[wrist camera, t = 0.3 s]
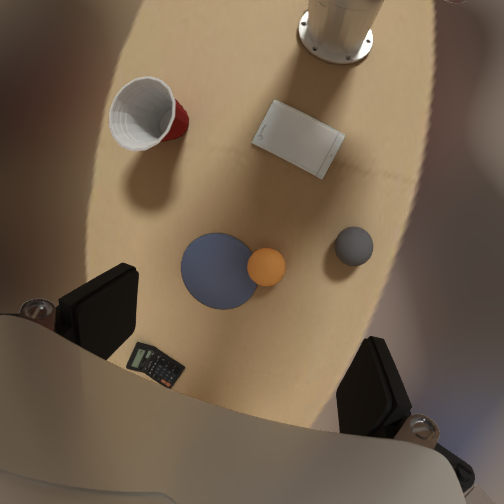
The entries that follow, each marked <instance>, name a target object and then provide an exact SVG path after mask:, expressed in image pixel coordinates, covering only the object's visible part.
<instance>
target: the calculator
mask: <svg viewBox="0 0 504 504" xmlns="http://www.w3.org/2000/svg"><path fill="white" fill-rule="evenodd" d="M126 368H127V369H131V370H135V371H139V372H143V373H145V374H146V375H148V376H149V377H151V378H152V379H154V380H155V381H157V382H158V383H160V384H161V385H163V386H164V387H166V388H169V389H171V387H172V386H173V385H174V383H175V382H176V380H177V379H178V377H179V376H180V375H181V373H182V372H183V370H184V369H185V367H184V366H183V365H181V364H180V363H178V362H177V361H175V360H174V359H172V358H171V357H169V356H168V355H166V354H165V353H163V352H162V351H160V350H159V349H157V348H156V347H154V346H151V345H147V344H144V343H140V342H137V343H136V345H135V348H134V350H133V352H132V354H131V356H130V359H129V361H128V363H127V365H126Z"/></svg>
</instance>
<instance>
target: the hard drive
mask: <svg viewBox="0 0 504 504" xmlns="http://www.w3.org/2000/svg"><path fill="white" fill-rule="evenodd" d="M345 136H346V135H344V134H342V133H341V132H339V131H337V130H335V129H333V128H332V127H330V126H328V125H326V124H324V123H322V122H320V121H319V120H317V119H315V118H313V117H311V116H309V115H307V114H305V113H303V112H301V111H299V110H297V109H295V108H293V107H291V106H288V105H286V104H284V103H282V102H280V101H278V100H276V99H275V100H274V101H273V103H272V105H271V106H270V108H269V110H268V112H267V114H266V116H265V118H264V119H263V121H262V123H261V125H260V127H259V129H258V131H257V133H256V135H255V137H254V139H253V140H252V144H254V145H256V146H258V147H260V148H262V149H264V150H266V151H268V152H270V153H272V154H274V155H276V156H278V157H280V158H282V159H284V160H286V161H288V162H290V163H292V164H294V165H296V166H298V167H300V168H301V169H303V170H305V171H307V172H309V173H311V174H313V175H314V176H316V177H318V178H320V179H323V178H324V176H325V174H326V172H327V170H328V168H329V167H330V165H331V163H332V161H333V159H334V157H335V155H336V153H337V152H338V150H339V148H340V146H341V144H342V142H343V140H344V138H345Z"/></svg>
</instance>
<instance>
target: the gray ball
mask: <svg viewBox="0 0 504 504" xmlns="http://www.w3.org/2000/svg"><path fill="white" fill-rule="evenodd" d="M335 251H336V254H337V256H338V258H339V259H340V260H341V261H342V262H343V263H345V264H347V265H349V266H359V265H362V264H364V263H365V262H366V261H367V260H368V259H369V258H370V257H371V254H372V252H373V241H372V238H371V236H370V235H369V234H368V232H367V231H365V230H364V229H362V228H359V227H349V228H346V229H344V230H343V231H342V232H341V233H340V234H339V235H338V237H337V239H336V242H335Z"/></svg>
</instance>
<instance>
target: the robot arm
mask: <svg viewBox="0 0 504 504" xmlns="http://www.w3.org/2000/svg"><path fill="white" fill-rule="evenodd" d="M445 1H448V2H452V3H462V2H465V1H467V0H445ZM383 2H384V0H309V7H308V11H307V12H306V13H305V14H304V15H303V16H302V18H301V20H300V22H299V26H298V32H299V37H300V40H301V42H302V44H303V45H304V46H305V48H306V49H307V50H308V51H309V52H310V53H312V54H313V55H314V56H316V57H318V58H320V59H321V60H324V61H327V62H330V63H335V64H351V63H355V62H358V61H360V60H362V59H363V58H364V57H365V56H367V54H368V53H369V51H370V50H371V48H372V44H373V35H372V32H371V29H370V28H371V26H372V24H373V22H374V20H375V18H376V16H377V14H378V12H379V10H380V8H381V6H382V4H383ZM303 25H304V26H303ZM314 50H316V51H314ZM347 59H349V60H347ZM138 280H139V273H138V271H136V268H135V267H134V266H131V265H128V264H126V263H121V264H119V265H117V266H115V267H113V268H112V269H110V270H108V271H106V272H104V273H103V274H101V275H99V276H97V277H96V278H94V279H92V280H90V281H89V282H87V283H85V284H83V285H82V286H80V287H78V288H77V289H75V290H73V291H72V292H70V293H68V294H66V295H65V296H63V297H62V298H60V299H59V305H58V306H57V307H55V305H54V304H53V303H52V302H50V301H48V300H45V299H33V300H29V301H27V302H25V303H24V304H23V305H22V307H21V308H20V312H19V314H0V504H495V503H494V502H493V500H492V499H491V498H490V497H489V496H488V495H487V494H486V492H485V491H484V490H483V489H482V488H481V487H480V486H479V485H478V484H477V485H476V486H474V485H473V484H474V480H475V474H474V472H473V469H472V467H471V466H470V465H468V464H467V463H466V462H464V461H463V460H461V459H460V458H458V457H457V456H456V455H454V454H452V453H451V452H450V451H448V450H447V449H445V448H444V447H442V446H441V445H440V444H438V443H437V441H438V439H439V435H440V432H439V428H438V426H437V425H436V423H435V422H434V421H433V420H431V419H430V418H429V417H427V416H425V415H421V414H413V415H411V412H410V409H411V408H412V405H411V403H410V400H409V398H408V395H407V392H406V390H405V387H404V385H403V382H402V380H401V377H400V375H399V373H398V370H397V368H396V365H395V363H394V361H393V358H392V356H391V354H390V352H389V349H388V347H387V345H386V343H385V340H384V339H382V338H378V337H373V336H370V337H369V338H368V339H364V340H363V342H362V344H361V346H360V348H359V350H358V351H357V353H356V355H355V357H354V359H353V361H352V363H351V365H350V367H349V369H348V370H347V372H346V374H345V376H344V378H343V379H342V381H341V383H340V385H339V386H338V389H337V392H336V398H337V408H338V418H339V427H340V433H336V432H329V431H322V430H316V429H310V428H305V427H300V426H295V425H290V424H285V423H280V422H276V421H271V420H267V419H263V418H259V417H255V416H251V415H247V414H244V413H240V412H237V411H233V410H230V409H226V408H223V407H220V406H217V405H213V404H210V403H207V402H204V401H201V400H198V399H196V398H193V397H190V396H187V395H184V394H182V393H179V392H176V391H174V390H171V389H169V388H166V387H164V386H161V385H159V384H156V383H154V382H152V381H149V380H147V379H145V378H142V377H140V376H138V375H136V374H134V373H131V372H129V371H127V370H125V369H123V368H121V367H118V366H116V365H114V364H112V363H110V362H108V361H106V360H107V359H108V358H109V357H110V356H111V355H112V354H113V353H114V352H115V351H116V350H117V349H118V348H119V347H120V346H121V345H122V344H123V343H124V342H125V341H126V340H127V339H128V338H129V337H130V336H131V335H132V334H133V332H134V330H135V326H136V307H137V292H138Z"/></svg>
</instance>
